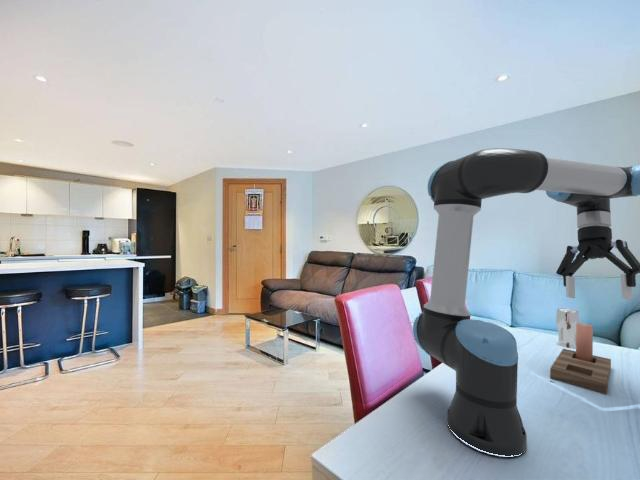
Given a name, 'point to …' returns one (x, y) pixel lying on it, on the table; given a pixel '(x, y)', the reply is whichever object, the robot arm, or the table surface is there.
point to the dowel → (584, 342)
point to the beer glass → (567, 327)
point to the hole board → (582, 371)
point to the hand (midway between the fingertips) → (596, 298)
